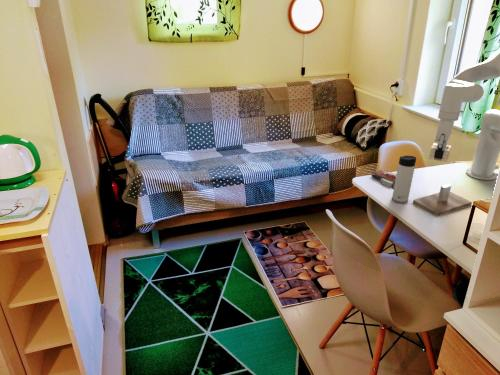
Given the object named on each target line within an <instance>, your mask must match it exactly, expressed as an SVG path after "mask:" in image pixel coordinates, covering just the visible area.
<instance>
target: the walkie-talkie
mask: <svg viewBox="0 0 500 375" xmlns="http://www.w3.org/2000/svg"><path fill="white" fill-rule="evenodd" d="M396 175H397V173H393V172H391V171H390V172H388V171H386V170H381V169H380V170H377V171H375V172H374V174H371V177H372V178H373V179H374V180H377V181H379V182H381V183H382V184H383V185H384V186H387V187H388V188H391V187H392V188H394V185H395V180H396Z"/></svg>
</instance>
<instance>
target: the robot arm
mask: <svg viewBox="0 0 500 375" xmlns="http://www.w3.org/2000/svg"><path fill="white" fill-rule="evenodd" d="M499 77H500V48H498V49H497V50H496V51H495V52H494V53H493V54H492V55H490V56H489V57H488V58H487V59H486V60H484V61H483V62H481V63H480V62H479V63H478V64H475V65H473V66H470V67H467V68H465V69H462V70H461V71H460V72H459V73H457V74H456V75H455V76H454V77H453V78H452V79H451V80H450V81H449V82H448V83H447V84H446V85H445V86H444V88H443V93H442V97H441V102H440V106H439V109H438V110H439V112H438V116H437V119H439V122H438V126H437V130H436V135H435V138H434V142H433V143H437V148H436V150H435V155H434V158H437V159H442V158H443V153H444V146H445V145H448V142H449V139H451V135H452V132H453V128H454V124H455V122H456V121H458V120H459V117H460V112H461V108H462V105H463V103H468V104H469V103H475V102H479V101H480V99H482V98H483V96H484V93H485V91H484V87H483V86H482V85H481V84H478V83H474V82H480V81H489V80H493V79H497V78H499ZM496 103H497V105H498V106H499V107H500V94H499V95H498V97H497V101H496ZM442 144H443V145H442ZM499 156H500V109H496V108H493V109H492V108H491V109H489V110H486V111H485V112H484V114H482V117H481V123H480V133H479V137H478V142H477V144H476V149H475V152H474V155H473V159H472V163H471V167H469V168H467V169H466V171H465V173H466V175H467V176H469V177H471V178H473V179H477V180H480V181H493V180H495V179H496V178H497V174H496V172H494V171H496V170H498V169H499V168H500V166H499V165H497V162H498V158H499Z"/></svg>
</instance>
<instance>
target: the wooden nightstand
mask: <svg viewBox="0 0 500 375" xmlns="http://www.w3.org/2000/svg"><path fill="white" fill-rule="evenodd" d="M437 144H438V142H436V143H435V142H433V144H432V145H431V147H430V152H429V156H428V159H429V160H432V161H433V160H434V161H438V162H439V161H440V162H448V160H449V156H450V152H451V150H452V149H451V148H452V145H449V144H446V145H445V146H444V153H443V158H442V159H437V158H434V155H435V150H436V148H437ZM442 145H443V144H442Z"/></svg>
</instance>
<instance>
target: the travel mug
mask: <svg viewBox="0 0 500 375" xmlns="http://www.w3.org/2000/svg"><path fill="white" fill-rule="evenodd" d="M398 160H399V161H398V164H397V170H396V174H397V175H396V180H395V185H394V187H393V192H392V197H391V199H392V201H393V202H394V203H396V204H404V205H405V204H407V203H408V202H409V196H410V192H411V187H412V183H413V178H414V177H413V176H414V173H415V168H416V163H417V162H416V161H417V157H416V156H413V155H403V156H399V159H398Z"/></svg>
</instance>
